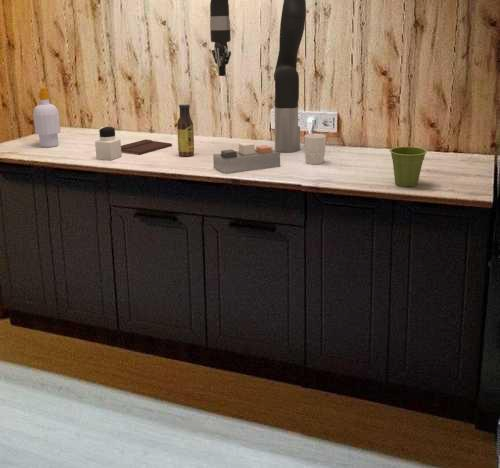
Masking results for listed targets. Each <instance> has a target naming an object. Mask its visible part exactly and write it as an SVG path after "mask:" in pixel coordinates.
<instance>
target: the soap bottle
mask: <svg viewBox="0 0 500 468" xmlns="http://www.w3.org/2000/svg"><path fill="white" fill-rule="evenodd" d="M47 89H50V87H49V86H48V87H47V86H46V87H40V90H39V92H38V95H39V104H37V105H36V106H35V107H34V108H33V113H32V117H33V125H34V131H35V132H34V133H35V135H38V139H39V146H40V147H41V148H54V147H57V146H59V144H60V143H59V135H58V134H59V133H61V121H60V113H59V110H58V108H57V106H55V105H54V104H52V103H50V97H49V91H47Z"/></svg>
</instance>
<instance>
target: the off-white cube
mask: <svg viewBox="0 0 500 468" xmlns="http://www.w3.org/2000/svg"><path fill="white" fill-rule="evenodd" d="M254 149H255V144H254V143H252V142H243V143H241V142H240V143H238V151H239V153H240V154H242V155H251V154H254Z"/></svg>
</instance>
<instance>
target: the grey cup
mask: <svg viewBox="0 0 500 468" xmlns="http://www.w3.org/2000/svg"><path fill="white" fill-rule="evenodd" d="M303 137H304V155H305V163H306V164H307V165H322V164H324V163H325V155H326V154H325V153H326V144H327V143H326V139H327V138H326V137H327V135H326V134H324V133H323V134H322V133H309V134H305V135H304V136H303Z"/></svg>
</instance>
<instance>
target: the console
mask: <svg viewBox="0 0 500 468" xmlns="http://www.w3.org/2000/svg"><path fill="white" fill-rule="evenodd" d="M236 152H237V157H229V158H224V157H222V156H221V153H214V154H212V155H213V156H212V157H213V169H215V170H217V171H219V172H221V173H222V174H224V173H226V174H233V172H234V173H238V172H239V173H240V172H248V170H249V171H254V170H255V169H256V170H262V169H270V168H277V167H281V152H278V151H275V149H272V152H270V153H258V152H256V148H254V154H251V155H242V154H240V153H239V150H238V151H237V150H236ZM256 170H255V171H256Z"/></svg>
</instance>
